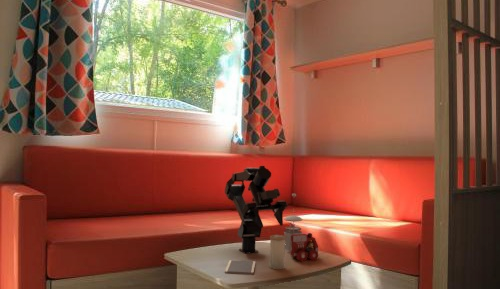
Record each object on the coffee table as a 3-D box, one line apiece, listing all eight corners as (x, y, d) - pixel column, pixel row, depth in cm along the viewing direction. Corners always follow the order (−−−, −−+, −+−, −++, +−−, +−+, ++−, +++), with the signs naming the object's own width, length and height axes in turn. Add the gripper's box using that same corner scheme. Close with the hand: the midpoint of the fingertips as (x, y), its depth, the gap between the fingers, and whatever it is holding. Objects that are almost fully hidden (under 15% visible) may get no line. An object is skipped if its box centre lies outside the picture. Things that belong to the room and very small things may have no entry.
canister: (266, 266, 162) (267, 235, 162) (279, 264, 165) (280, 234, 165) (273, 270, 157) (274, 238, 157) (287, 268, 159) (288, 237, 160)
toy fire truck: (322, 260, 174) (322, 234, 174) (295, 262, 169) (295, 235, 169) (313, 256, 180) (313, 231, 180) (286, 258, 175) (287, 232, 176)
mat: (229, 261, 166) (229, 260, 166) (255, 263, 166) (255, 261, 166) (224, 272, 151) (225, 270, 151) (253, 274, 151) (253, 272, 151)
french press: (304, 248, 193) (306, 192, 193) (302, 254, 182) (304, 195, 182) (282, 247, 195) (284, 191, 195) (279, 252, 184) (281, 194, 184)
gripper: (247, 182, 167) (260, 216, 158) (286, 181, 176) (301, 213, 167) (236, 198, 174) (248, 232, 165) (274, 196, 183) (288, 228, 175)
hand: (272, 226), depth 168 cm, fingers open, 9 cm apart
